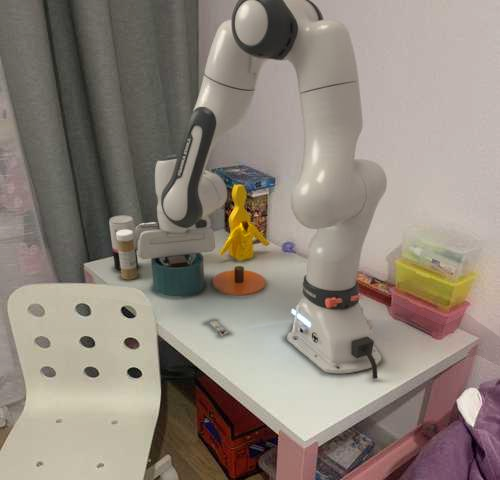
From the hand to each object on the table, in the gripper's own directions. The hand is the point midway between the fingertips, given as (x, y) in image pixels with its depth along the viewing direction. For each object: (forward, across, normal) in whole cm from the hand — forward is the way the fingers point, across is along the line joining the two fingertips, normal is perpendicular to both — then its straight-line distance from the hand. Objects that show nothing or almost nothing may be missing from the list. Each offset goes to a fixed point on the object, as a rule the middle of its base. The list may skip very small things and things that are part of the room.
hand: (178, 269), depth 131 cm
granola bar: (+6, +4, -24) cm, 25 cm away
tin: (+5, 0, 0) cm, 5 cm away
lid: (+4, +16, -4) cm, 17 cm away
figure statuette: (+5, +23, +14) cm, 27 cm away
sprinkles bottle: (+5, -12, +10) cm, 16 cm away
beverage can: (+5, -12, +16) cm, 21 cm away
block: (+2, 0, 0) cm, 2 cm away
